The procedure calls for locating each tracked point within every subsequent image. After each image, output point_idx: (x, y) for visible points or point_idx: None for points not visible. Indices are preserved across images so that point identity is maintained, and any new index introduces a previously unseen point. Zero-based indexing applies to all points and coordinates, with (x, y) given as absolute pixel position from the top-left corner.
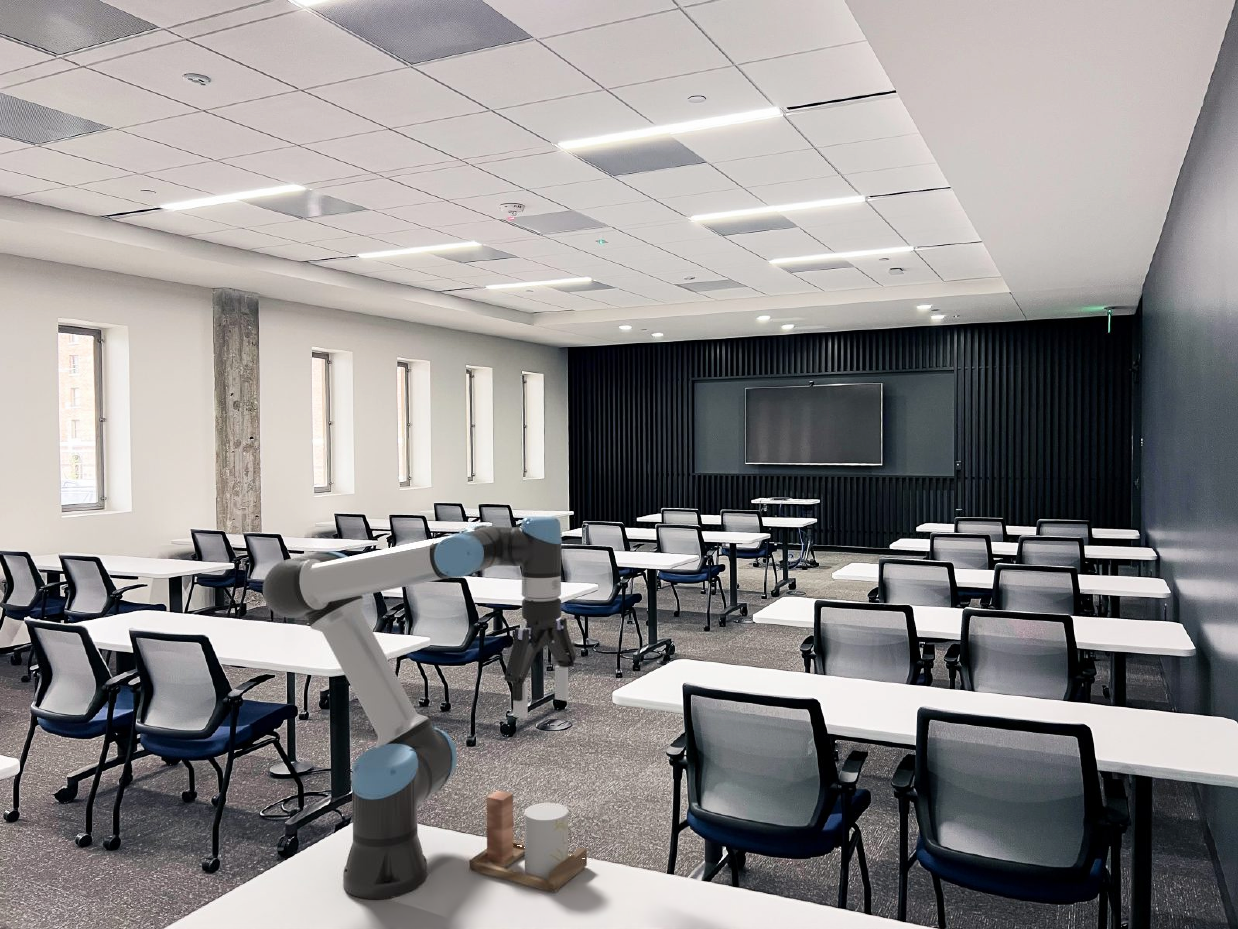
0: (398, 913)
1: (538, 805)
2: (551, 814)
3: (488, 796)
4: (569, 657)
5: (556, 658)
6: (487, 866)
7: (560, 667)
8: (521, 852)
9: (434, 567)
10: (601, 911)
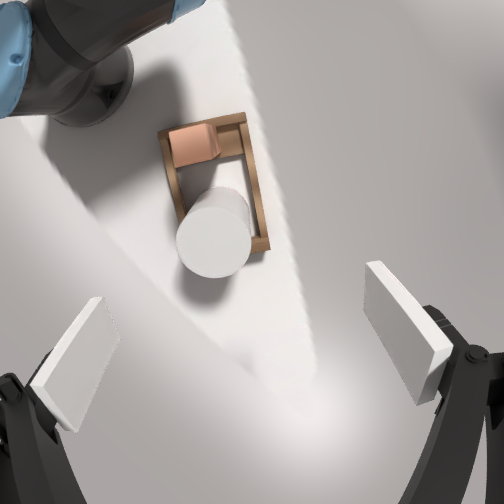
0: (59, 156)
1: (222, 216)
2: (209, 259)
3: (171, 133)
4: (488, 404)
5: (444, 408)
6: (165, 160)
7: (425, 380)
8: (235, 154)
9: None
10: (201, 311)
